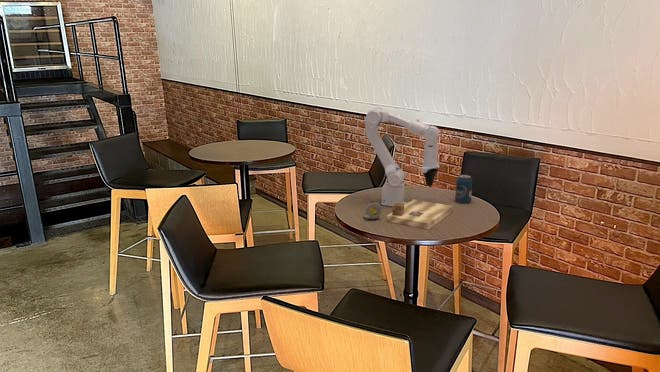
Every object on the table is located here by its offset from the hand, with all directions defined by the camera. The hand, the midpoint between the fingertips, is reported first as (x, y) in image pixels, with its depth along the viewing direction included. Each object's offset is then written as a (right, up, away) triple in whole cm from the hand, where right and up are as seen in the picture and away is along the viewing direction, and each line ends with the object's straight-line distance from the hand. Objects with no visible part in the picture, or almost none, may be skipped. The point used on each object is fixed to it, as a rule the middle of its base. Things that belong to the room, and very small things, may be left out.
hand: (429, 185), depth 218 cm
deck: (-5, -13, -9) cm, 16 cm away
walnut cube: (-15, -12, -14) cm, 24 cm away
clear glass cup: (-26, -14, -11) cm, 31 cm away
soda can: (+17, -8, +10) cm, 21 cm away
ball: (-9, -12, -14) cm, 20 cm away
